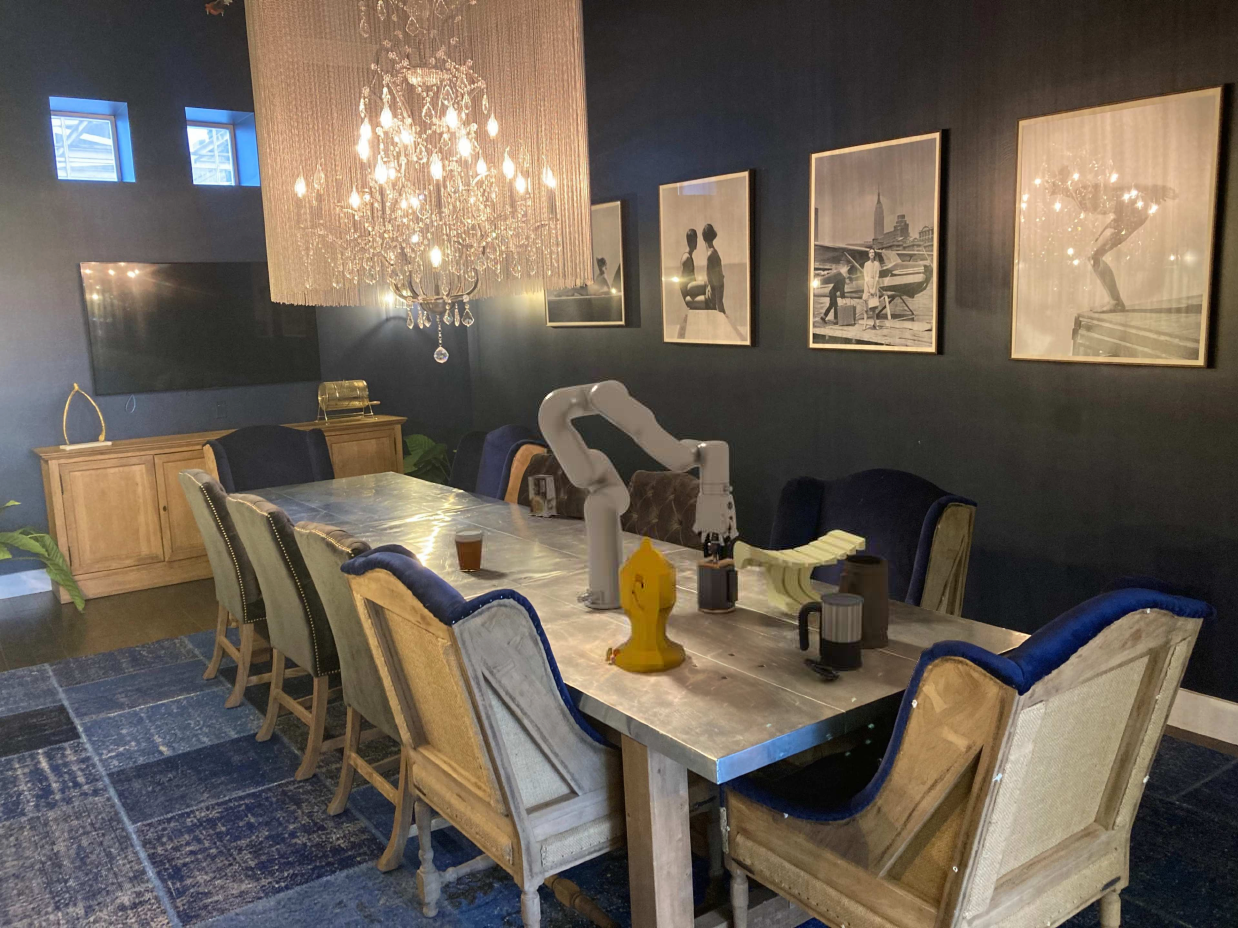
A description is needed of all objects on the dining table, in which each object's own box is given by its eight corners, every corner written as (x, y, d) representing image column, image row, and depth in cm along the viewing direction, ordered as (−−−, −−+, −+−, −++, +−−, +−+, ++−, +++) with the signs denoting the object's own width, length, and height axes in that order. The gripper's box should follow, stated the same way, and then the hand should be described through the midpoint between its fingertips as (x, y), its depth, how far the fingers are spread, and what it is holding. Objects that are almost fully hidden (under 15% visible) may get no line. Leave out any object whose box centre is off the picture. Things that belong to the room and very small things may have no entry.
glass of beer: (448, 571, 299) (446, 533, 298) (467, 564, 308) (465, 528, 306) (473, 574, 295) (471, 536, 293) (491, 567, 303) (489, 530, 302)
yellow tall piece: (598, 678, 204) (594, 549, 200) (616, 641, 228) (612, 525, 224) (681, 680, 202) (678, 550, 198) (689, 642, 226) (687, 525, 222)
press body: (724, 617, 244) (724, 567, 242) (690, 609, 252) (689, 561, 250) (746, 608, 251) (745, 560, 250) (712, 601, 259) (711, 554, 257)
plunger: (718, 604, 247) (718, 546, 245) (699, 600, 251) (698, 543, 249) (733, 599, 252) (732, 542, 250) (713, 595, 256) (712, 539, 254)
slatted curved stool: (831, 590, 266) (831, 527, 264) (864, 605, 251) (865, 538, 249) (734, 603, 256) (733, 538, 254) (762, 619, 241) (762, 550, 239)
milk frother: (857, 656, 213) (857, 591, 211) (877, 681, 198) (877, 612, 196) (793, 658, 213) (793, 593, 211) (808, 684, 198) (808, 614, 196)
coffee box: (557, 514, 387) (555, 475, 384) (547, 517, 381) (546, 477, 379) (539, 513, 391) (537, 474, 389) (529, 515, 386) (527, 476, 384)
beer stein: (855, 630, 231) (853, 550, 227) (897, 638, 224) (896, 555, 220) (825, 651, 220) (822, 568, 216) (869, 660, 213) (867, 574, 209)
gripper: (749, 489, 245) (750, 559, 247) (697, 484, 256) (698, 551, 258) (732, 494, 239) (733, 565, 242) (679, 488, 250) (681, 556, 253)
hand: (715, 557), depth 250 cm, fingers closed on plunger, 4 cm apart
